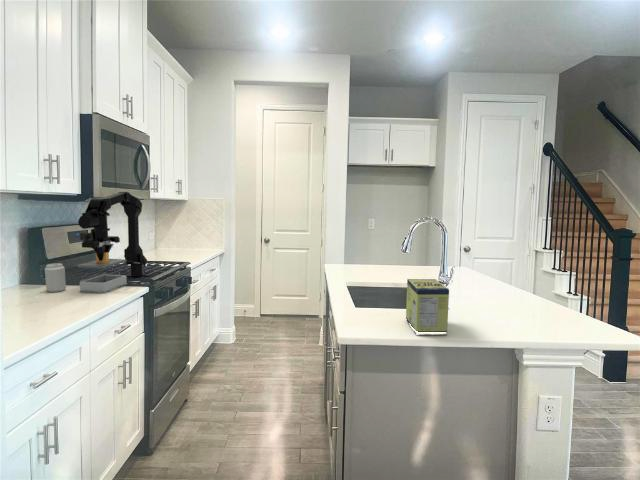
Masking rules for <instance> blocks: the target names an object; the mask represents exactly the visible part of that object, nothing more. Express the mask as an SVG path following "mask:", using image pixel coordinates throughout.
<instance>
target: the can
mask: <svg viewBox="0 0 640 480" xmlns="http://www.w3.org/2000/svg"><path fill="white" fill-rule="evenodd" d="M65 270H66V269H65V266H64V265H63V263H60V262H59V263H49V264H46V266H45V268H44V274H45V275H44V276H45V290H46V291H47V292H48V293H59V292H60V293H61V292H64V291H65V290H66V288H67V284H66V283H67V281H66V272H65Z"/></svg>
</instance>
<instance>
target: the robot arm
mask: <svg viewBox="0 0 640 480" xmlns="http://www.w3.org/2000/svg"><path fill="white" fill-rule="evenodd" d="M118 204H120V206H122V207H123V211H124V214H125V215H126V217H127V235H128V236H127V239H128V240H127V241H128V245H127V247H126V248H124V249H123V253H124V255H123V257H124V259H126V262H125V263H126V265H128V266H129V265H130V267H129V269H130V275H128V276H130V277H129V278H142V277H143V276H146V275H147V273H144V266H145V265H147V263H148V259H147V258H146V256H145V255H144V251H143V248H142V247H141V246H140V234H139V231H140V230H139V229H140V227H139V218H140V215H141V213H142V209H143V202H142V201H141V200H140V199H139V197H136V196H135V195H133V194H131V193H130V192H128V191H118V192H116V193H115V194H112V195H108V196H105V197H97V198H96V197H95V198H91V199H90V200H89V203H88V205H87V208H86V209H85V211H84V212H82V213H81V216H80V217H79V218H78V221H77V222H78V226H79V227H80V228H82V229H83V230H86V229H90V232H88V233H87V232H85V231H84V232H80V233H79V239H80V240H81V241H82V242H81V248H83V249H84V248H87V249H88V248H90V249H92V250H94V252H95V255H96V254H97V256H98V258H99V261H102V260H103V255H104V252H108V253H110V251H111V250H112V247H113V246H114V243H115V244H119V243H121V242H120V241H121V239H120V237H119V236H118V235H109V231H111V228H109V227H108V217H109V216H111V214H110V213H109V212H108V211H109V210H110V209H111V208H112V206H114V205H118ZM141 276H142V277H141Z"/></svg>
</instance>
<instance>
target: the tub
mask: <svg viewBox="0 0 640 480" xmlns="http://www.w3.org/2000/svg"><path fill="white" fill-rule="evenodd" d="M127 284H128V283H127V275H123V274H121V275H120V274H103V273H102V274H100V275H97V276H94V277H91V278H87V279H85V280H82V281H79V292H80V293H93V294H94V293H95V294H107V293H109V292H111V291H114V290H117V289H119V288H123V287H124V286H127Z"/></svg>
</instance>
